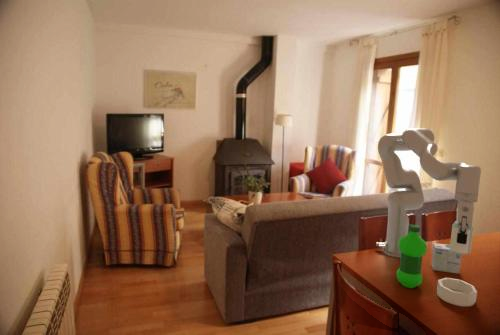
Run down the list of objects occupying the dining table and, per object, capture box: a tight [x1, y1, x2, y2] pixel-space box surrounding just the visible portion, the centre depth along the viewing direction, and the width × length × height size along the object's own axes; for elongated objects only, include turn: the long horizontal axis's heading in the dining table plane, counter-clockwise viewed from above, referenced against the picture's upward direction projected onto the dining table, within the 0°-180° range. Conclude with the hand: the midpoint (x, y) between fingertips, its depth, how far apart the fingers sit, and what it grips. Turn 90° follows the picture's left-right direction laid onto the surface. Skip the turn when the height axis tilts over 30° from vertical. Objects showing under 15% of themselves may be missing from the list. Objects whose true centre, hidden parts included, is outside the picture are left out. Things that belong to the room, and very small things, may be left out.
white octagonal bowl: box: [436, 277, 478, 308], centre depth 129 cm, size 12×12×5 cm
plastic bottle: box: [396, 223, 428, 289], centre depth 137 cm, size 10×10×25 cm
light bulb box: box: [430, 242, 463, 275], centre depth 153 cm, size 11×7×11 cm, turn 71°
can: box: [449, 220, 474, 255], centre depth 134 cm, size 7×7×12 cm
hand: (461, 239), depth 134 cm, fingers closed on can, 7 cm apart
